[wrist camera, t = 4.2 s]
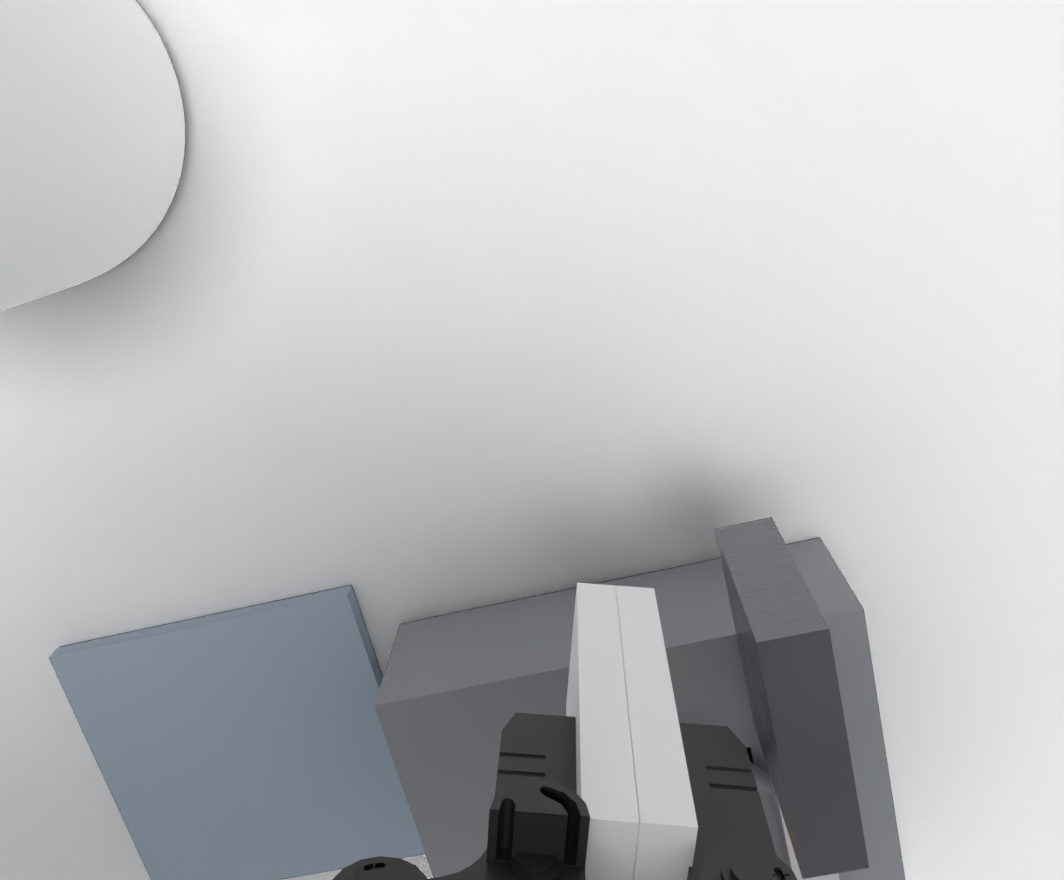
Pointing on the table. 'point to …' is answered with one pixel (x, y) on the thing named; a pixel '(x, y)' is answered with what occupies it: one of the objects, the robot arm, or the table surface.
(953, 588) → the table surface
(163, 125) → the cup
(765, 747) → the grey lever
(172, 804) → the mat
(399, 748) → the socket block
